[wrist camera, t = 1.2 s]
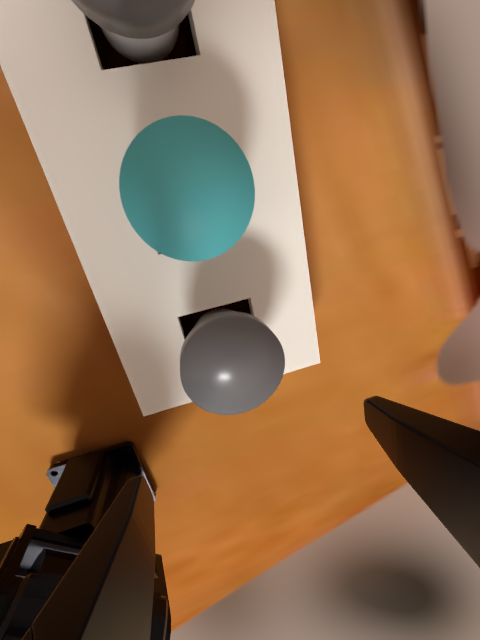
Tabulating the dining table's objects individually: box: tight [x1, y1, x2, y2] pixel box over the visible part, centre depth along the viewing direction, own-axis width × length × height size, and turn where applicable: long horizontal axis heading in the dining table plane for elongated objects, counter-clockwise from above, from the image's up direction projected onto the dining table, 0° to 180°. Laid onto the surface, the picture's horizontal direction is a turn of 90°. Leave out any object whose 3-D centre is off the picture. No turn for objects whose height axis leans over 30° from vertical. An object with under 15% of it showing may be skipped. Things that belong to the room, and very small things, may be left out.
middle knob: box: [119, 115, 255, 262], centre depth 13 cm, size 5×5×5 cm
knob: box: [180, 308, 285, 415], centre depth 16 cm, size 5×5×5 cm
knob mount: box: [0, 0, 320, 416], centre depth 16 cm, size 23×12×4 cm, turn 12°
